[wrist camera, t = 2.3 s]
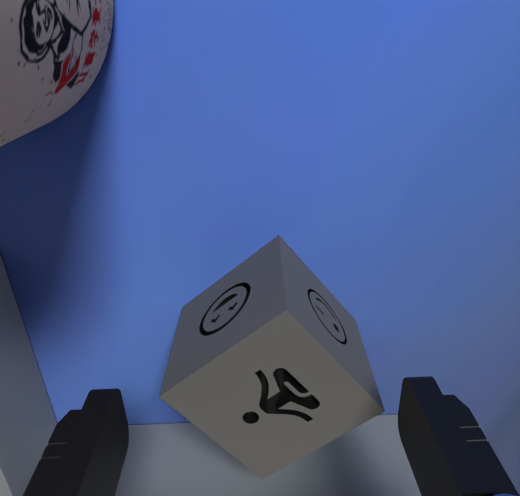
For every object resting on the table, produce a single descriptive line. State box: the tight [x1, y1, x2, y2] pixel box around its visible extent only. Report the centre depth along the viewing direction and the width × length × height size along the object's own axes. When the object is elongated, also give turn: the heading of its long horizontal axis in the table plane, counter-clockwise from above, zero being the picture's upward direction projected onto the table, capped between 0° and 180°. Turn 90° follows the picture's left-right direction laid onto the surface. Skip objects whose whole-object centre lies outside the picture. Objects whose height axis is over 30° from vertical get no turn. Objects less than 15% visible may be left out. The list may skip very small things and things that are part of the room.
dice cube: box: [159, 235, 385, 480], centre depth 17 cm, size 5×5×5 cm
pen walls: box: [0, 255, 421, 496], centre depth 18 cm, size 17×11×4 cm, turn 93°
